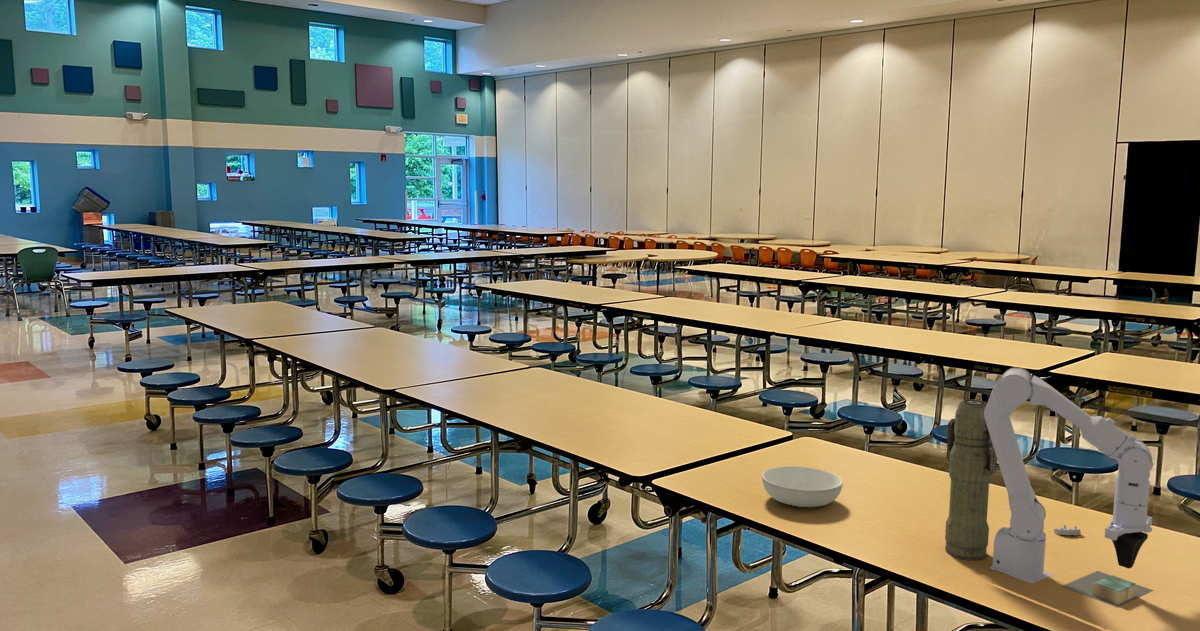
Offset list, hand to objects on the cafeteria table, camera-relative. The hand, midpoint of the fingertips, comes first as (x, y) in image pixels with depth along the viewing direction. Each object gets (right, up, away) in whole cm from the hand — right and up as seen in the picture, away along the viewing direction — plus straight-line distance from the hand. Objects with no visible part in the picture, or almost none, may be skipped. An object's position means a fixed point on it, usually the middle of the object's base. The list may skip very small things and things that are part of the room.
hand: (1125, 566), depth 171 cm
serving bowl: (-53, +1, +55) cm, 76 cm away
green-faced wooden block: (0, -4, 0) cm, 4 cm away
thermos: (-23, -3, +21) cm, 32 cm away
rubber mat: (-2, -6, +2) cm, 7 cm away
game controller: (+7, -3, +30) cm, 31 cm away
